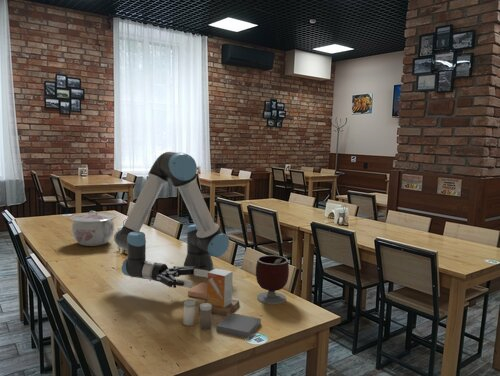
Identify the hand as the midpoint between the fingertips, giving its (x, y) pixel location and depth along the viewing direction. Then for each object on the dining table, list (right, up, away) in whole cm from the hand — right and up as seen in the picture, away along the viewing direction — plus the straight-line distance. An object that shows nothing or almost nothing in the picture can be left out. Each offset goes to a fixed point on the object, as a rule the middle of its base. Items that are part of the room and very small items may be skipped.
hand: (200, 279), depth 170 cm
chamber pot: (-76, +2, +89) cm, 117 cm away
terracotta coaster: (+1, -9, +13) cm, 16 cm away
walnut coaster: (+8, -11, -2) cm, 14 cm away
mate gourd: (+29, -11, +8) cm, 32 cm away
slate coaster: (+16, -13, -18) cm, 28 cm away
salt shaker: (-2, -12, -16) cm, 21 cm away
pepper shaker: (+4, -13, -19) cm, 23 cm away
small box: (+8, -9, -2) cm, 12 cm away
